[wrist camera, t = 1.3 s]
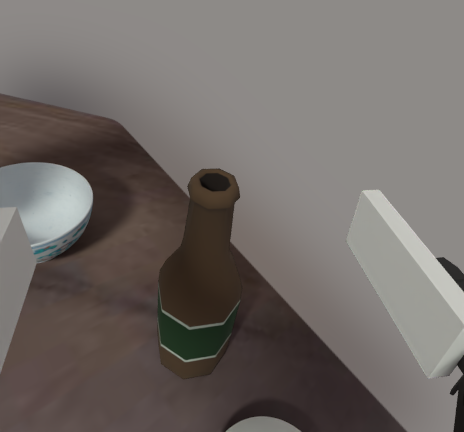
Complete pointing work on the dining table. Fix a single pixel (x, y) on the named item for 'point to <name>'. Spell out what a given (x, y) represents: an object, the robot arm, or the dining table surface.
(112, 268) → the dining table surface
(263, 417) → the plinth
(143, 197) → the dining table surface
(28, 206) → the chinaware
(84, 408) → the dining table surface
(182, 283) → the beer bottle
